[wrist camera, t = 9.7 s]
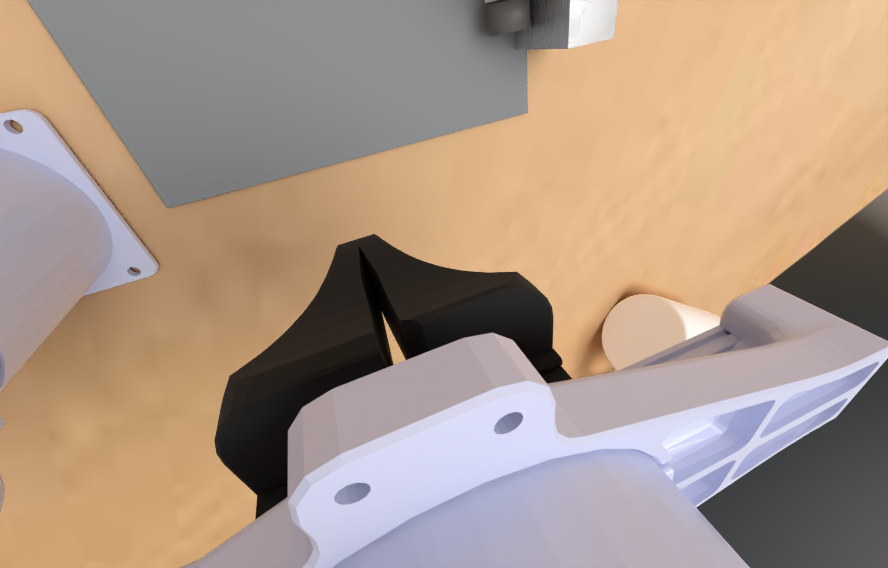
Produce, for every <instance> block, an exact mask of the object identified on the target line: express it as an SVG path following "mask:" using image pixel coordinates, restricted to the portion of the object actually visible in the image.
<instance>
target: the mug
mask: <svg viewBox="0 0 888 568" xmlns="http://www.w3.org/2000/svg"><path fill="white" fill-rule="evenodd" d="M720 319H721V318H720V317H719V316H717V315H715V314H713V313H710V312H707V311H704V310H701V309H698V308H695V307H692V306H688V305H685V304H682V303H679V302H676V301H673V300H669V299H666V298H663V297H660V296H657V295H652V294H638V295H634V296H630V297H628V298H626V299H624V300H622V301H620V302H619V303H618V304H617V305H615V306H614V307H613V308H612V310H611V311H610V312H609V314H608V315H607V317H606V319H605V322H604V325H603V329H602V345H603V349H604V352H605V355H606V357H607V359H608V360H609V362H610V363H611V365H612V366H613V367H614V368H615V371H614V372H616V371H619V370H621V369H623V368H625V367H627V366H630V365H632V364H634V363H636V362H639V361H641V360H643V359H645V358H647V357H650V356H652V355H654V354H656V353H659V352H661V351H663V350H665V349H667V348H670V347H672V346H674V345H676V344H679V343H681V342H683V341H685V340H687V339H690V338H692V337H694V336H696V335H699V334H701V333H703V332H705V331H707V330H710V329H712V328H714V327H716V326H719V325H720Z"/></svg>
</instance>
